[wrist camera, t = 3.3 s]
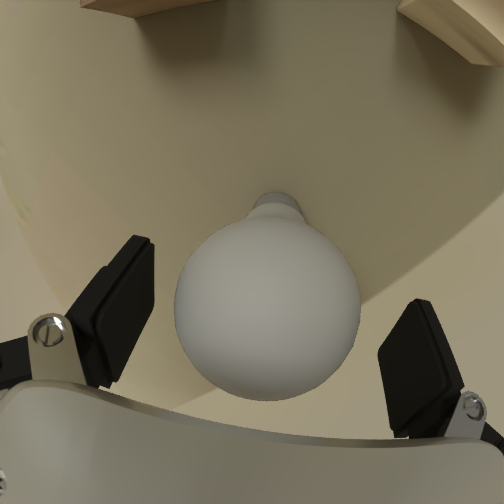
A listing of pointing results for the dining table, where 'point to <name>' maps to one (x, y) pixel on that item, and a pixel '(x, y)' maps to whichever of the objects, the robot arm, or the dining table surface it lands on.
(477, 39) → the beech cube
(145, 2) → the walnut cube
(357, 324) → the lightbulb
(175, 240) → the dining table surface
